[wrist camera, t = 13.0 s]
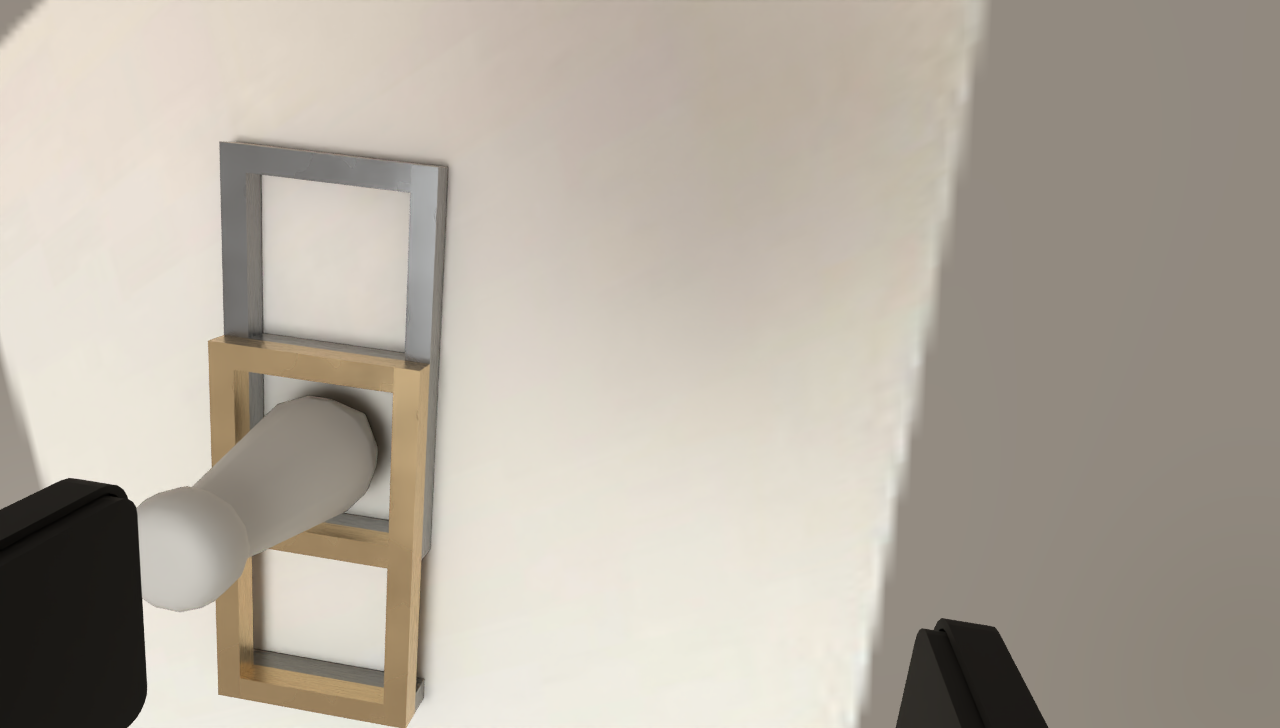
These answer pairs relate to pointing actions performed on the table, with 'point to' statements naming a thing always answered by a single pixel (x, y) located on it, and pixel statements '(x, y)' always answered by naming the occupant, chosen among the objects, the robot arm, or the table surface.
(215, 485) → the salt shaker
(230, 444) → the gold rectangular frame
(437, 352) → the grey rectangular frame
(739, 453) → the table surface
